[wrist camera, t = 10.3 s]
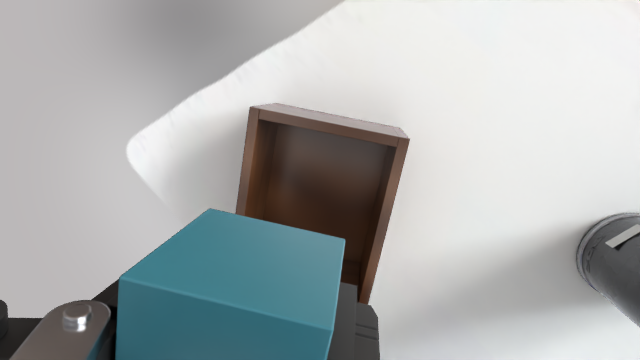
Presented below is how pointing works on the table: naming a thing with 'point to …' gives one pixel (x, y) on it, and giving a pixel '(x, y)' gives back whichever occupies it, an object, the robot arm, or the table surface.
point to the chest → (324, 180)
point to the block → (231, 293)
